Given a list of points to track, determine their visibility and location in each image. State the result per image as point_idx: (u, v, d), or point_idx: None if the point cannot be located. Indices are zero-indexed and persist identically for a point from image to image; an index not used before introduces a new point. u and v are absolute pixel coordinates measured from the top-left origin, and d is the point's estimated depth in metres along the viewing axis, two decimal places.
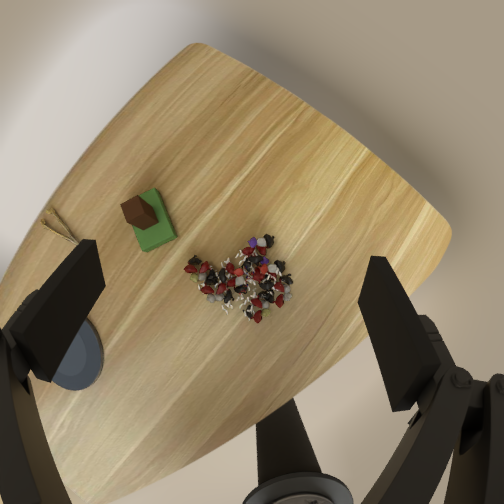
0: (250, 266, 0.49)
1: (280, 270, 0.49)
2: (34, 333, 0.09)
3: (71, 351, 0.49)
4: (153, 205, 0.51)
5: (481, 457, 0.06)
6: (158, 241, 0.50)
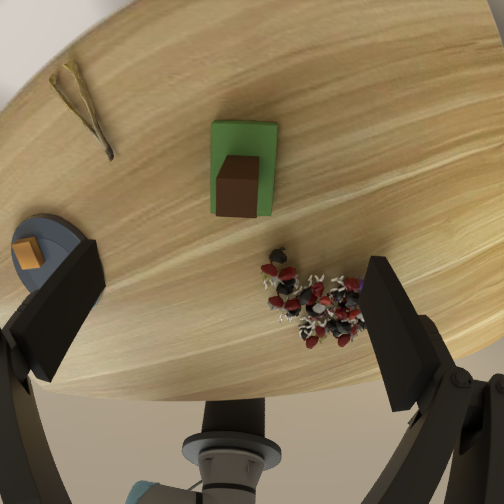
0: None
1: None
2: (34, 333, 0.09)
3: None
4: (261, 154, 0.28)
5: (481, 457, 0.06)
6: None
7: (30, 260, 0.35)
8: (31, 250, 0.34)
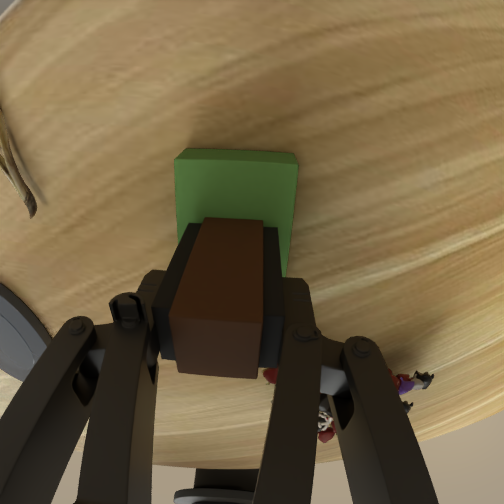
0: None
1: None
2: None
3: (8, 344, 0.25)
4: (267, 217, 0.16)
5: (362, 432, 0.07)
6: None
7: None
8: None
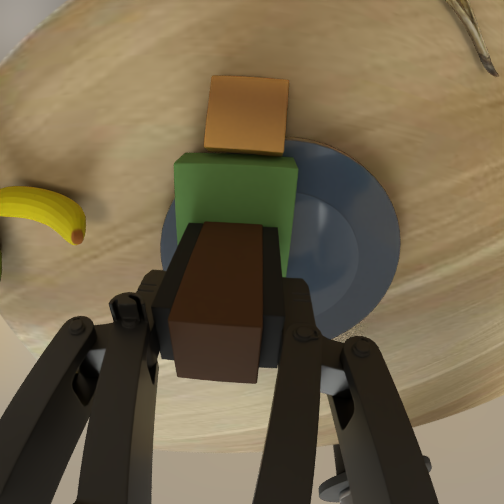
0: None
1: None
2: None
3: (302, 273, 0.21)
4: (267, 221, 0.16)
5: (362, 432, 0.07)
6: None
7: (261, 125, 0.15)
8: (284, 103, 0.15)
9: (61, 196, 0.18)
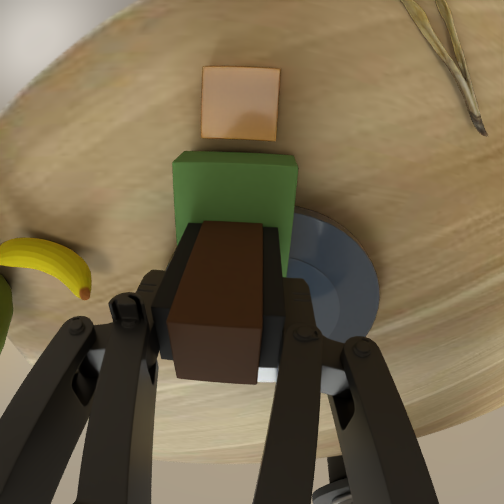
0: None
1: None
2: None
3: None
4: (266, 220, 0.16)
5: (363, 432, 0.07)
6: None
7: (254, 115, 0.15)
8: (276, 93, 0.15)
9: (66, 251, 0.20)
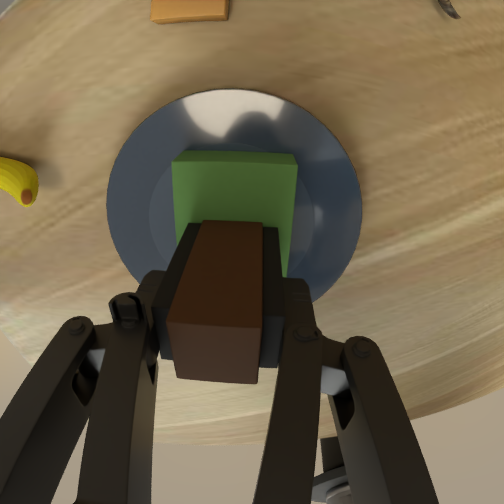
0: None
1: None
2: None
3: None
4: (266, 219, 0.16)
5: (363, 432, 0.07)
6: None
7: None
8: None
9: (19, 162, 0.17)
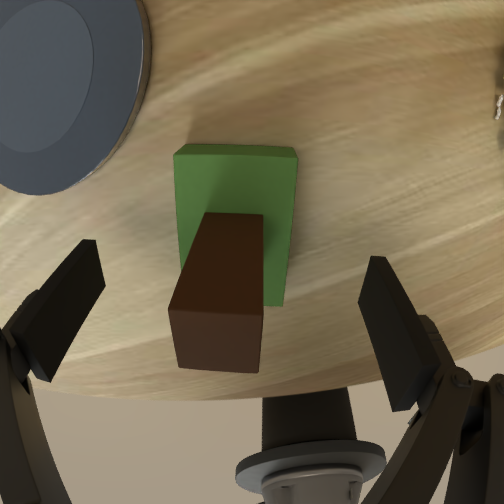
0: None
1: None
2: (34, 333, 0.09)
3: (43, 80, 0.13)
4: (267, 211, 0.16)
5: (481, 457, 0.06)
6: None
7: None
8: None
9: None
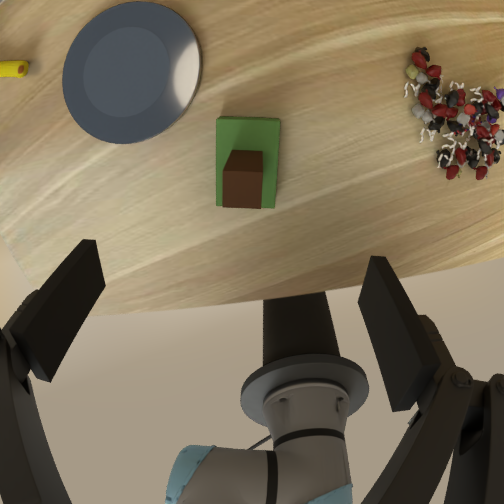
0: (480, 113, 0.25)
1: (501, 143, 0.26)
2: (34, 333, 0.09)
3: (135, 75, 0.27)
4: (264, 149, 0.29)
5: (481, 457, 0.06)
6: None
7: None
8: None
9: (19, 60, 0.24)
